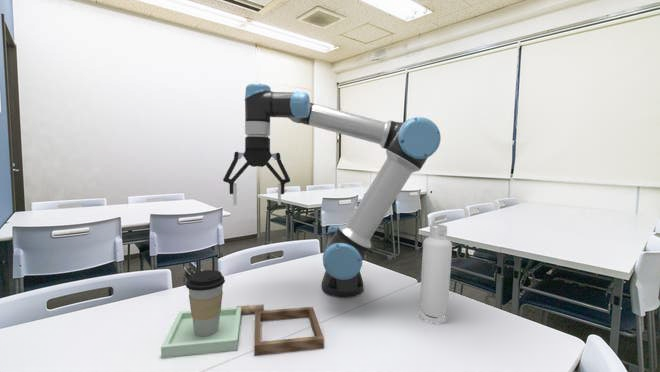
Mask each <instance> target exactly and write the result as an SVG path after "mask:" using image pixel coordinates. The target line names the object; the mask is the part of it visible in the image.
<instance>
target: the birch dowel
mask: <svg viewBox="0 0 660 372" xmlns="http://www.w3.org/2000/svg"><path fill="white" fill-rule="evenodd" d="M235 307H241V316H242V315H255V311H265V305H264V304H252V305H250V304H249V305H238V306H235Z"/></svg>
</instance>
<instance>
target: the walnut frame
mask: <svg viewBox="0 0 660 372" xmlns="http://www.w3.org/2000/svg"><path fill="white" fill-rule="evenodd" d="M254 315H255V317H254V353H253V354H254V356H263V355H271V354H272V355H273V354H281V353H290V352H291V353H292V352H299V351H309V350H310V351H312V350H318V349H319V350H320V349H324V348H325V346H324V344H325V338H324V335H323V333H322V330H321V327H320V323H319V321H318V320H319V319H318V318H317V314H316V311H315V309H314V306H305V307H294V308H293V307H292V308H291V307H290V308H279V309H268V310H266V309H264V311H255V314H254ZM305 318H306V319H307V318H308V320H309V322H310V323H309V324H310V326H311V329H312V330H311V331H312V333H313V336H305V337H295V338H294V337H292V338H283V339H273V340H264V341H261V322H270V321H282V320H295V319H305Z"/></svg>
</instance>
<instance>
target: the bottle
mask: <svg viewBox="0 0 660 372" xmlns="http://www.w3.org/2000/svg"><path fill="white" fill-rule="evenodd" d="M447 235H448V226H447V225H444V224H435V223H434V224H430V226H429V236H427V237H426V238H425V239H424V240H423V241H422V242H423V243H422V260H421V275H420V276H421V277H420V290H419V291H420V294H419V309H418V310H419V313H418V316H419V315H420V316H419V318H420V317H421V318H422V319H424V320H426V321H428V322H432V323H443V324H445V323H447V322H446V321H448V312H449V311H448V310H449V301H450V300H449V298H450V297H449V296H450V284H451V283H450V281H451V267H452V256H453V255H452V252H453V251H452V250H453V243H452V242H451V240H450V239H448V238H447ZM444 316H445V317H444ZM421 318H420V319H421ZM422 319H421V320H422ZM424 320H423V321H424ZM426 321H425V322H426ZM428 322H427V323H428ZM444 322H445V323H444ZM432 323H431V324H432Z"/></svg>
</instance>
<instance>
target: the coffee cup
mask: <svg viewBox="0 0 660 372" xmlns="http://www.w3.org/2000/svg"><path fill="white" fill-rule="evenodd" d="M225 282H226V280H225V277H224V276H223V274H222V272H221V271H219V270H214V269H207V270H199V271H197V272H194V273H192V274H190V275H189V277H188V279H187V280H186V282H185V288H186V289H188V293H189V294H188V300H189V306H190V311H191V315H192V318H193V325H194V332H195V334H196V335H197V336H200V337H206V336H210V335H212V334H214V333H216V332H217V331H218V328H219V318H220V313H221V308H222V303H223V302H222V301H223V294H224V293H223V286H224V284H225Z"/></svg>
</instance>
